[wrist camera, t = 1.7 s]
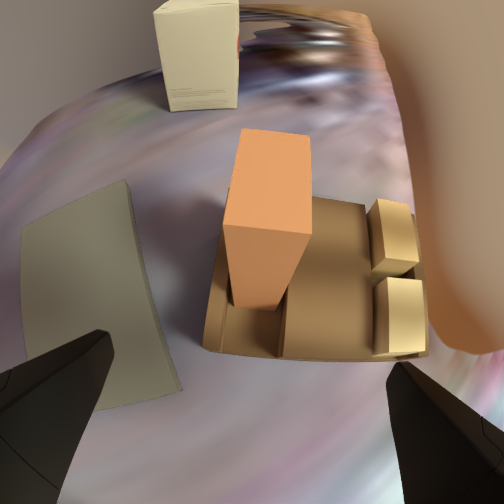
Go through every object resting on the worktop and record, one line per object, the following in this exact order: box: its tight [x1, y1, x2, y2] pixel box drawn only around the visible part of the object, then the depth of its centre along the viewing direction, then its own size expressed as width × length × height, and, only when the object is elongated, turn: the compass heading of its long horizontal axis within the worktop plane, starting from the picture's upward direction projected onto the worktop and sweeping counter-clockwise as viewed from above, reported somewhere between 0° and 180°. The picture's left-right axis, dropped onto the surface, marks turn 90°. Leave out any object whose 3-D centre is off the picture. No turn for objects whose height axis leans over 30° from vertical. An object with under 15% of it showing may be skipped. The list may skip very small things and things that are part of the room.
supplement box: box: [153, 0, 239, 112], centre depth 26 cm, size 9×9×15 cm
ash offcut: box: [372, 277, 425, 358], centre depth 17 cm, size 5×3×4 cm, turn 174°
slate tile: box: [20, 180, 182, 411], centre depth 20 cm, size 20×14×2 cm
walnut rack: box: [202, 187, 429, 362], centre depth 20 cm, size 12×16×4 cm
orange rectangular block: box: [223, 129, 312, 311], centre depth 16 cm, size 5×3×12 cm, turn 174°
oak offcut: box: [366, 198, 419, 281], centre depth 20 cm, size 5×3×4 cm, turn 174°
